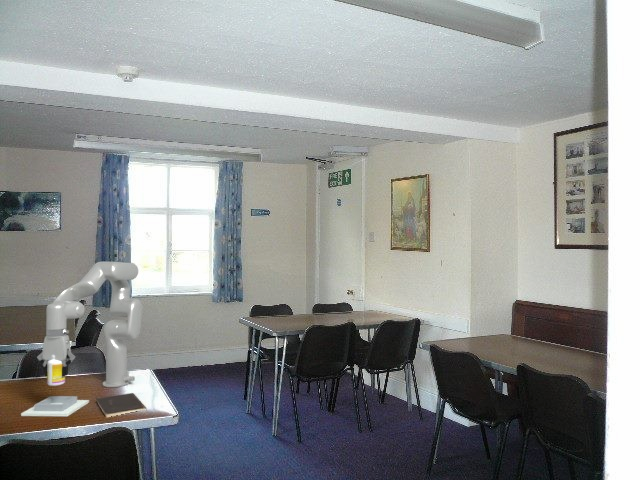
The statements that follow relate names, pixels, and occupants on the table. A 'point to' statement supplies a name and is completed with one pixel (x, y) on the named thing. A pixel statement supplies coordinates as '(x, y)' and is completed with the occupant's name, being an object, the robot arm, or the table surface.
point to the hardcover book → (120, 404)
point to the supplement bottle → (55, 372)
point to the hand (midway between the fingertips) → (56, 375)
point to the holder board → (56, 406)
